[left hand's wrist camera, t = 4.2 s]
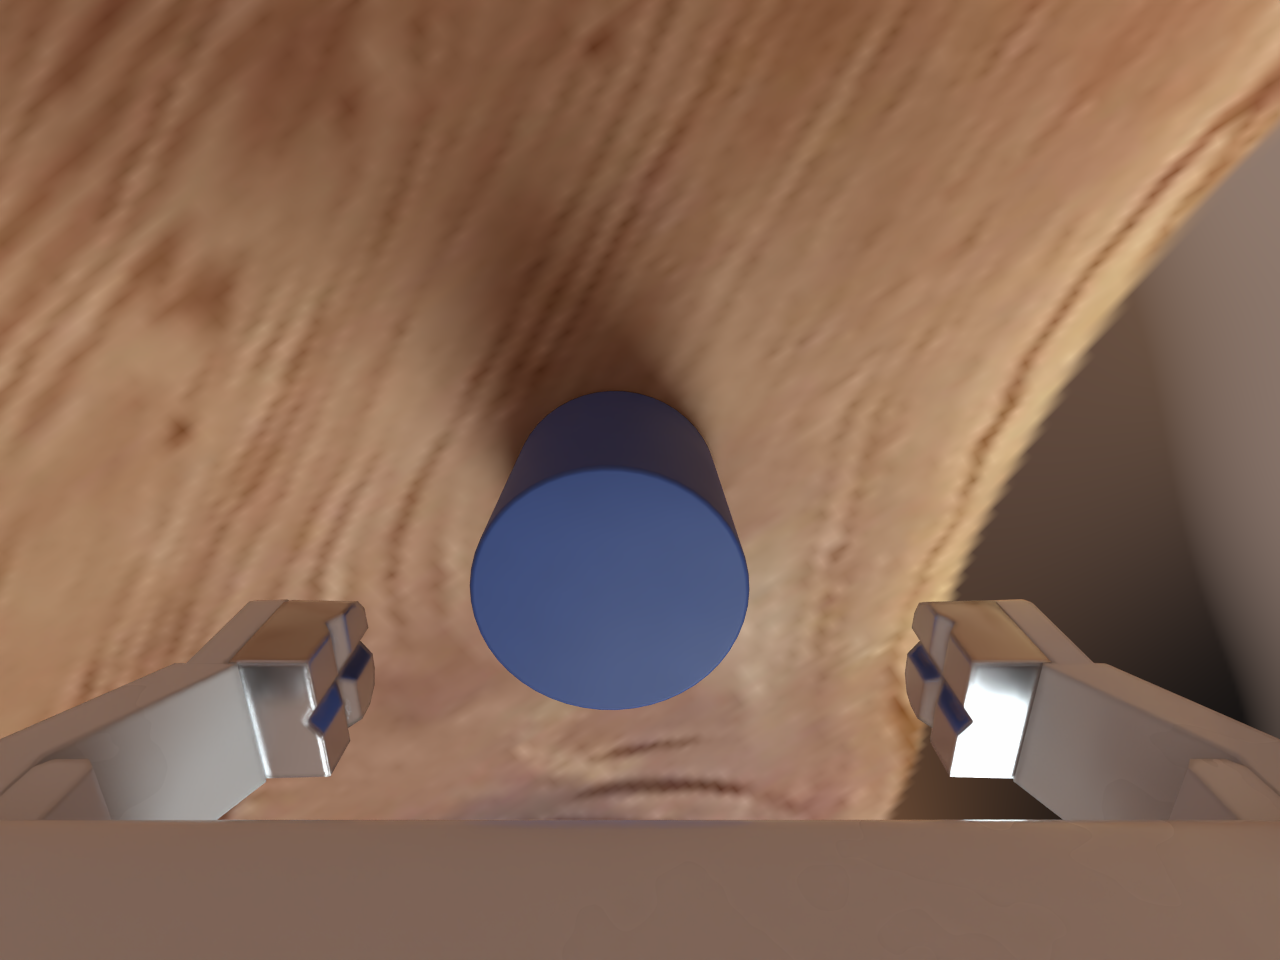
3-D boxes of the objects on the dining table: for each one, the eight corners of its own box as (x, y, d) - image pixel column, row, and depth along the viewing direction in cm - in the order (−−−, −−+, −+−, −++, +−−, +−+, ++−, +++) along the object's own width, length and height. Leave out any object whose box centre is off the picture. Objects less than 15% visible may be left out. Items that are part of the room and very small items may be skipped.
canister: (525, 580, 16) (486, 716, 12) (504, 394, 14) (450, 472, 10) (716, 572, 16) (747, 706, 12) (716, 386, 14) (752, 459, 10)
